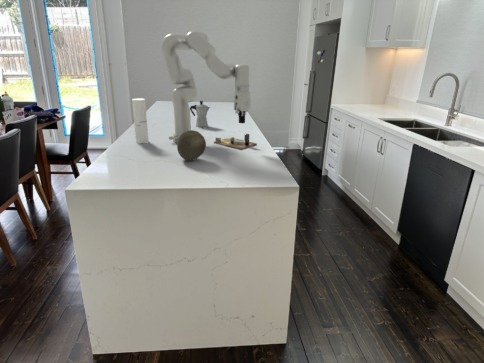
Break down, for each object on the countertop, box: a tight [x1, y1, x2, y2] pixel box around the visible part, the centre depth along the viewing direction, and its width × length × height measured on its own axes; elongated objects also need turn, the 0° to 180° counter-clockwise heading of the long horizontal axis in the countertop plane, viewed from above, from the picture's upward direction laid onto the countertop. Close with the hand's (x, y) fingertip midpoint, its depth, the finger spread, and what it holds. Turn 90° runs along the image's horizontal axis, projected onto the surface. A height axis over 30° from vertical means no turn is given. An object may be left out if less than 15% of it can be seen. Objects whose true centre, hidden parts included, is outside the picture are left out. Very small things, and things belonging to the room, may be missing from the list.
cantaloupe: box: [176, 129, 207, 162], centre depth 170 cm, size 14×14×15 cm
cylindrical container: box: [131, 97, 149, 144], centre depth 198 cm, size 7×7×25 cm
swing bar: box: [229, 133, 250, 145], centre depth 198 cm, size 12×3×6 cm, turn 70°
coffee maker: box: [189, 100, 211, 129], centre depth 242 cm, size 15×9×18 cm, turn 84°
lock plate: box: [213, 136, 258, 151], centre depth 202 cm, size 15×21×3 cm
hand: (241, 122), depth 188 cm, fingers closed
